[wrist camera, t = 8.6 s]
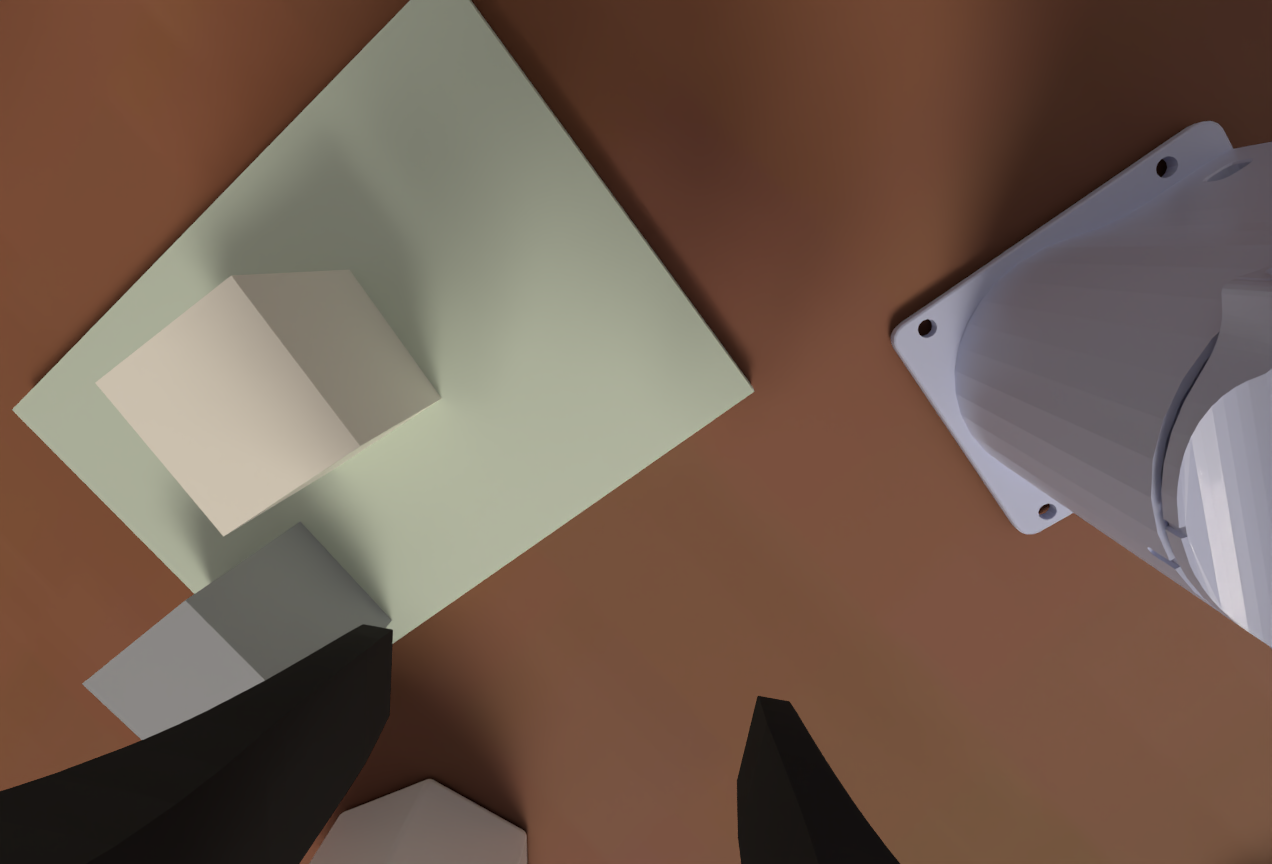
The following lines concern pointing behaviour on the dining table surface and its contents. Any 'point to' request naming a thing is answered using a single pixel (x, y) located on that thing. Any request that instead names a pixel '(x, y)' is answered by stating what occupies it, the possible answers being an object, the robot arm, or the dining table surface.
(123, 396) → the cream colored cube
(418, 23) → the board
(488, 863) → the jar
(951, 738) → the dining table surface
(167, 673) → the grey sharp-edged cube
